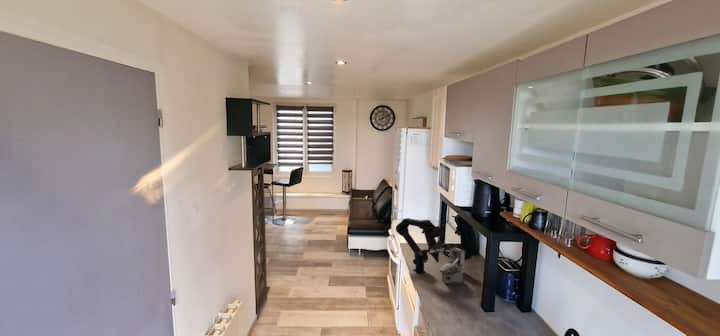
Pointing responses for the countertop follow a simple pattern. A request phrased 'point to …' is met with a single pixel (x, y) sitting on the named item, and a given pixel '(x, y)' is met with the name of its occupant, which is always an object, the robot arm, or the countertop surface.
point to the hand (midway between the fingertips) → (437, 262)
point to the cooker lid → (449, 264)
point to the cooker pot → (452, 277)
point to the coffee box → (461, 258)
